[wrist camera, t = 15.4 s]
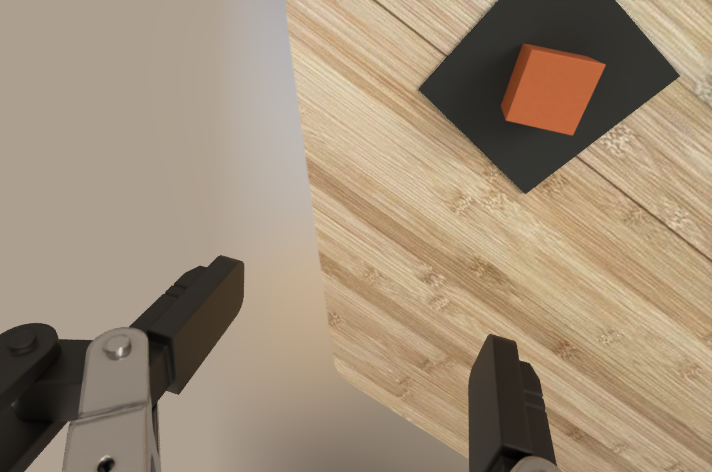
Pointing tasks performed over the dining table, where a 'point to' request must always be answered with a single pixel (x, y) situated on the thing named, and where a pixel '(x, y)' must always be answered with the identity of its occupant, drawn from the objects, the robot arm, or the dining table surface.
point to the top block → (550, 88)
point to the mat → (554, 31)
